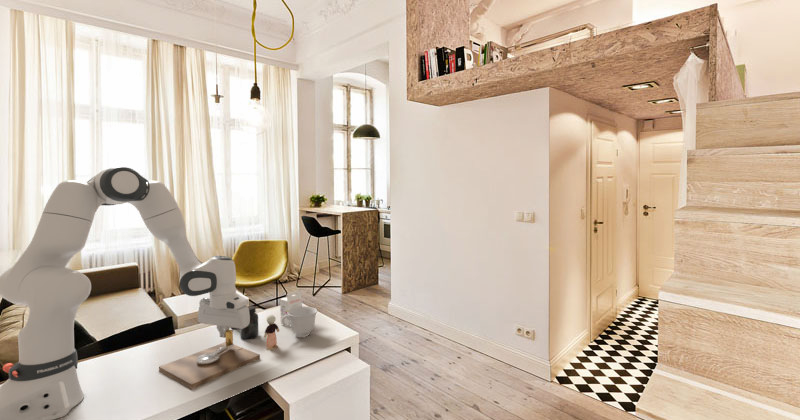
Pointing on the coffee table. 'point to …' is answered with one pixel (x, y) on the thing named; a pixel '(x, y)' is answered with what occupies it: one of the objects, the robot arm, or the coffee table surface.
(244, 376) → the coffee table surface
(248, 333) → the supplement bottle
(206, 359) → the lever
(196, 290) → the robot arm
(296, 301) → the ink cartridge box
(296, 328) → the teacup
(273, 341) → the grandmother figurine
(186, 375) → the base plate
